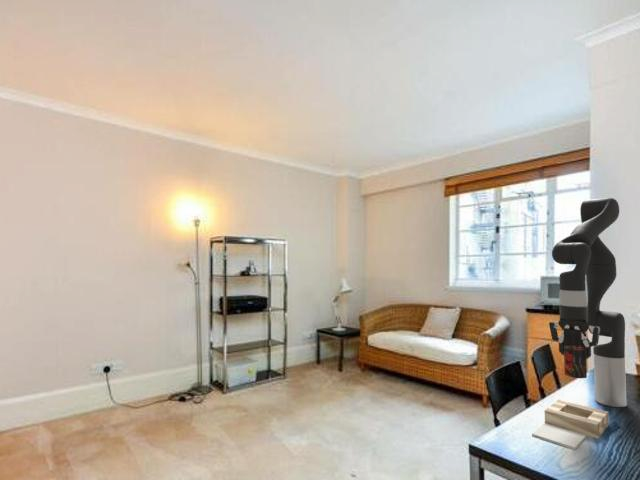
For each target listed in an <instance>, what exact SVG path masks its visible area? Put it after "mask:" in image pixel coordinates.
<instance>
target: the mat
mask: <svg viewBox="0 0 640 480" xmlns="http://www.w3.org/2000/svg"><path fill="white" fill-rule="evenodd" d="M531 436H532V437H534V438H537V439H538V438H539V439H541V440H545V441H547V442H550V443H553V444H556V445H560V446H563V447H566V448H569V449H571V450H573V451H574V450H576V449H577V448H578V447H579V446H580V445H581V443H583V442H584V440H585V439H586V438H587V435H584V434H581V433H577V432H574V431H570V430H567V429H564V428H560V427H557V426H554V425H550V424H547V423H545V422H544V423H543V424H542V425H540V426H539V427H538V428H537V429H536V430H534V431H533V432H532V433H531Z"/></svg>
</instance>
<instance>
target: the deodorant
mask: <svg viewBox="0 0 640 480" xmlns="http://www.w3.org/2000/svg"><path fill="white" fill-rule="evenodd" d="M563 330H564V338H563V339H564V355H563V364H564V366H563V367H564V375H565V376H566V377H569V378H573V379H587V376H588V375H587V373H588V372H587V359H585V356H584V347H585V345H584V343H583V340H582V336H581V332H582V333H583V330H575V329H566V328H563ZM563 330H562V331H563ZM583 335H584V336H585V333H583Z"/></svg>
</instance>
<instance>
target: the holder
mask: <svg viewBox="0 0 640 480" xmlns="http://www.w3.org/2000/svg"><path fill="white" fill-rule="evenodd" d="M609 414H610V412H609V411H606V410H602V409H600V408H599V409H598V408H594V407H591V406H586V405H582V404H578V403H574V402H570V401H566V400H562V399H558V400H556V401H555V402H554V403H552V404H551V405H550V406H548V407H547V408H545V410H544V423H547V424H550V425H554V426H557V427H560V428H564V429H567V430H570V431H574V432H577V433H581V434H584V435H586V437H587V436H588V437H591V438H594V439H599V438H600V437H601V435H602V434H603V433H604V431H605V430H607V428H608V427H609V426H610V415H609Z"/></svg>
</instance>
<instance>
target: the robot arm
mask: <svg viewBox="0 0 640 480" xmlns="http://www.w3.org/2000/svg"><path fill="white" fill-rule="evenodd" d="M579 211H580V220H581V223H580V224H578V225H577V226H576V227H575V228H574V229H573V230H572V232H570V234H569V235H568V236H566V237H565V238H563V239H560V240H559V241H558V242H557V243H556V244H555V245H554V246H553V248H552V251H551V257H552V260H553V261H554V262H555V263H557V264H559V265H575V266H574V268H573V269H572V270H569V271H563V272H560V274H559V294H558V295H559V296H558V304H559V307H558V308H559V320H558V321H549V323H548V326H549V331H550V335H551V340H552V341H556V342H557V343H558V352H559V353H560V354H561V356H564V339H563V338H564V330H563V328H566V329H575V330H583V333H585V336H584V335H583V333H582V332H581V336H582V340H583V343H584V345H585V347H584V356H585V359H586V360H588V359H590V358H591V356H592V350H593V376H594V377H593V378H594V401H596V402H597V403H599V404H600V405H604V406H608V407H615V408H626V407H627V405H628V404H627V403H628V402H627V384H626V383H627V381H626V379H627V377H626V376H627V375H626V358H625V357H626V354H625V353H626V352H625V350H626V348H625V347H626V346H625V345H626V343H625V341H626V338H625V337H626V321H625V320H626V319H625V317H624V315H623V314H622V313H621V312H616V311H606V310H601V309H600V306H601V302H602V299H603V298H604V295H605V294H606V293H607V291H608V290H609V289H610V287H611V286H612V285H613V284H614V282H615V281H616V278H617V263H616V261H617V260H616V258H615V255H614V254H613V253H612V251H611V249H609V248H608V247H607V246H606V244H605V243H604V242H603V241H602V240H601V238H600V236H599V235H601V234H603V232H604V231H605V230H606V229H607V228H609V227H610V226H611V225H612V224H615V222H616V221H617V220H618V219H619V216H620V205H619V203H618V201H617V200H616V199H615V198H613V197H605V198H604V197H603V198H602V197H601V198H593V199H586V200H583V201H582V202H581V204H580V208H579ZM586 289H587V291H586ZM559 327H560V328H561V329H562V331H561V334H560V336H559V335H558V333H559V332H558V330H557V329H558V328H559ZM586 332H589V333H590V335H592V337H591V341H590V339H589V337H588V335H587V333H586ZM600 336H601V337H607V338H611V340H610V341H609V342H607V343H603V344H601V343H600V344H599V339H600ZM592 347H593V349H592Z"/></svg>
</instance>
